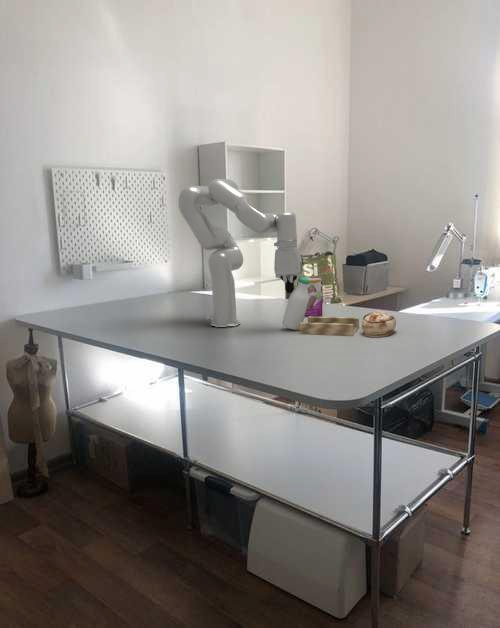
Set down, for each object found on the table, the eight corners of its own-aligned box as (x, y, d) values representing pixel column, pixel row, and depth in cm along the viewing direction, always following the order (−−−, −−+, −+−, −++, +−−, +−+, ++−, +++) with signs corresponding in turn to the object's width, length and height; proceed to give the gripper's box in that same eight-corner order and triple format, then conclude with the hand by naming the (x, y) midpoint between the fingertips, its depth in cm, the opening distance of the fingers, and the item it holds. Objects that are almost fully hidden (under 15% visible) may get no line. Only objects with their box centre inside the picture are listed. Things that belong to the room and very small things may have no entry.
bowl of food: (391, 328, 206) (391, 307, 205) (403, 336, 191) (403, 315, 190) (356, 329, 206) (356, 309, 204) (365, 338, 191) (365, 316, 190)
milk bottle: (299, 332, 207) (313, 282, 201) (280, 326, 208) (293, 277, 202) (301, 326, 214) (315, 279, 209) (283, 321, 215) (296, 274, 210)
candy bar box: (297, 317, 236) (296, 280, 233) (297, 314, 241) (296, 278, 238) (322, 316, 235) (322, 279, 232) (322, 314, 240) (321, 277, 237)
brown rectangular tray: (299, 333, 203) (299, 323, 202) (309, 326, 216) (309, 316, 215) (352, 335, 196) (352, 325, 195) (359, 327, 209) (359, 317, 208)
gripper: (265, 246, 205) (268, 294, 208) (303, 244, 199) (305, 293, 203) (272, 245, 212) (274, 291, 215) (308, 243, 206) (310, 290, 209)
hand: (289, 292), depth 209 cm, fingers closed
